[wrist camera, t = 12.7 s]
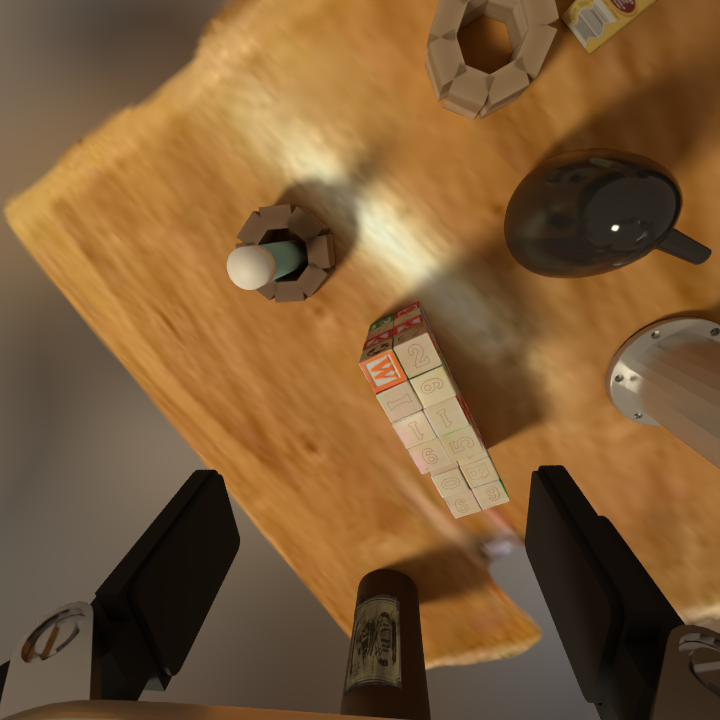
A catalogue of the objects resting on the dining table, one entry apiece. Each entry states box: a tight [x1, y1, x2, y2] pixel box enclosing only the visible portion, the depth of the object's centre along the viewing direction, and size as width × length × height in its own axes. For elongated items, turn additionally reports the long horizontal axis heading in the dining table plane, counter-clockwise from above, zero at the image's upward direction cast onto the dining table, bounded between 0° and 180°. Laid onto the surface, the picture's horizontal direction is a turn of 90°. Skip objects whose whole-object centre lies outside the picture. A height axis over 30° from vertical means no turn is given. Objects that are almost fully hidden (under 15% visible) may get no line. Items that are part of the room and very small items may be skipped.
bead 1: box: [236, 204, 336, 303], centre depth 36 cm, size 9×9×4 cm
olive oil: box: [340, 570, 430, 720], centre depth 44 cm, size 11×11×25 cm
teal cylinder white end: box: [227, 240, 308, 290], centre depth 32 cm, size 3×3×13 cm
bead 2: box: [425, 0, 559, 119], centre depth 28 cm, size 9×9×4 cm
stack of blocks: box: [359, 302, 510, 519], centre depth 37 cm, size 21×6×12 cm, turn 28°
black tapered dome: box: [504, 148, 712, 278], centre depth 27 cm, size 10×10×15 cm
